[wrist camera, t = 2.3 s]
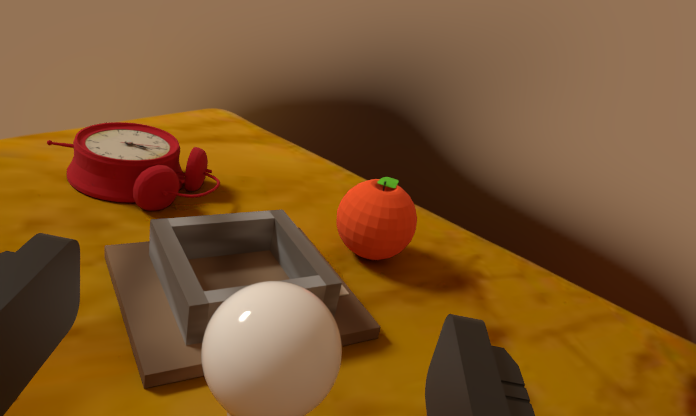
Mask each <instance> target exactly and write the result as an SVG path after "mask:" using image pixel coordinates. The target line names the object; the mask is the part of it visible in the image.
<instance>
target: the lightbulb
mask: <svg viewBox="0 0 696 416" xmlns="http://www.w3.org/2000/svg"><path fill="white" fill-rule="evenodd" d="M341 358H342V343H341V336H340V332H339V329H338V326H337V323H336V321H335V319H334V317H333V315H332V313H331V312H330V310H329V309H328V307H327V306H326V305H325V304H324V303H323V302H322V301H321V300H320V299H319V298H318V297H317V296H316V295H315V294H313V293H312V292H310V291H309V290H307V289H305V288H303V287H301V286H298V285H296V284H292V283H288V282H283V281H265V282H259V283H255V284H252V285H249V286H246V287H244V288H242V289H240V290H238V291H237V292H235V293H234V294H232V295H231V296H230V297H228V298H227V299H226V300H225V301H224V302H223V303H222V304H221V305H220V306H219V307H218V308H217V310H216V311H215V313H214V314H213V316H212V317H211V319H210V321H209V323H208V325H207V328H206V330H205V333H204V337H203V342H202V349H201V361H202V368H203V373H204V377H205V380H206V382H207V384H208V387H209V389H210V390H211V392H212V394H213V395H214V397H215V398H216V400H217V401H218V402H219V403H220V404H221V406H222V407H223V408H224V409H225V410H226V411H227V416H305V415H306V414H308V413H309V412H311V411H312V410H313V409H314V408H316V407H317V406H318V405H319V404H320V403H321V402H322V401H323V400H324V398H325V397H326V396H327V395H328V393H329V392H330V390H331V388H332V387H333V385H334V383H335V381H336V378H337V376H338V373H339V369H340V365H341Z"/></svg>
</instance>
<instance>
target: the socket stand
mask: <svg viewBox="0 0 696 416" xmlns="http://www.w3.org/2000/svg"><path fill="white" fill-rule="evenodd" d="M105 259H106V263H107V266H108V269H109V273H110V276H111V279H112V283H113V286H114V289H115V293H116V296H117V300H118V303H119V306H120V310H121V313H122V316H123V320H124V323H125V326H126V330H127V333H128V336H129V340H130V343H131V346H132V350H133V353H134V356H135V360H136V363H137V366H138V370H139V373H140V377H141V380H142V383H143V387H144V388H149V387H154V386H158V385H163V384H168V383H172V382H177V381H182V380H186V379H191V378H195V377H200V376H204V373H203V368H202V361H201V349H202V342H203V337H204V333H205V330H206V328H207V325H208V323H209V321H210V319H211V317H212V316H213V314H214V313H215V311H216V310H217V308H218V307H219V306H220V305H221V304H222V303H223V302H224V301H225V300H226V299H227V298H228V297H230V296H231V295H232V294H234V293H235V292H237V291H238V290H240V289H242V288H244V287H246V286H249V285H252V284H255V283H259V282H265V281H283V282H288V283H292V284H296V285H298V286H301V287H303V288H305V289H307V290H309V291H310V292H312V293H313V294H315V295H316V296H317V297H318V298H319V299H320V300H321V301H322V302H323V303H324V304H325V305H326V306H327V307H328V309H329V310H330V312H331V313H332V315H333V317H334V319H335V321H336V323H337V326H338V329H339V332H340V336H341V343H342V346H344V345H348V344H353V343H358V342H362V341H367V340H372V339H376V338H378V335H379V331H380V328H381V327H380V326H379V325H378V323H377V322H376V321H375V320H374V318H373V317H372V316H371V315H370V313H369V312H368V311H367V310H366V309H365V307H364V306H363V305H362V304H361V302H360V301H359V300H358V299H357V298H356V296H355V295H354V294H353V293H352V291H351V290H350V289H349V288H348V287H347V285H346V284H345V283H344V282H343V280H342V279H341V278H340V277H339V276H338V274H337V273H336V272H335V271H334V269H333V268H332V267H331V266H330V265H329V263H328V262H327V261H326V260H325V258H324V257H323V256H322V255H321V254H320V252H319V251H318V250H317V249H316V247H315V246H314V245H313V244H312V242H311V241H310V240H309V239H308V238H307V236H306V235H305V234H304V233H303V231H302V230H301V229H300V228H297V227H296V225H295V224H294V223H293V222H292V220H291V219H290V218H289V217H288V215H287V214H286V213H285V212H284V211H283V210H272V211H259V212H245V213H232V214H219V215H206V216H192V217H179V218H166V219H153V220H151V222H150V242H139V243H129V244H118V245H107V246H105Z"/></svg>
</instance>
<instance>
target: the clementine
mask: <svg viewBox="0 0 696 416" xmlns="http://www.w3.org/2000/svg"><path fill="white" fill-rule="evenodd" d="M397 183H398V180H395V179H392V178H389V177H384V178H381V179H373V180H368V181H365V182H362V183H359V184H357V185H356V186H354V187H353V188H352V189H350V190H349V191H348V192H347V193H346V195H345V196H344V197H343V199H342V201H341V202H340V205H339V208H338V210H337V228H338V232H339V235H340V237H341V239H342V240H343V242H344V244H345V245H346V246H347V247H348V248H349V249H350V250H351V251H352V252H354V253H355V254H357V255H358V256H360V257H363V258H366V259H371V260H381V259H387V258H390V257H393V256H395V255H396V254H398V253H400V252H401V251H402V250H403V249H404V248H405V247H406V246H407V245H408V244H409V243H410V242H411V240H412V238H413V235H414V233H415V230H416V223H417V216H416V210H415V206H414V204H413V202H412V200H411V198H410V197H409V195H408V194H407V193H406V192H405V191H404V190H403V189H402V188H401V187H399V186H398V185H397Z"/></svg>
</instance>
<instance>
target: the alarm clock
mask: <svg viewBox="0 0 696 416" xmlns="http://www.w3.org/2000/svg"><path fill="white" fill-rule="evenodd" d="M47 144H48V145H51V144H53V145H59V146H65V147H71V148H74V157H73V160H72V162H71V164H70V165H69V167H68V169H67V179H68V181H69V183H70V184H71V185H72V186H73V187H74V188H75V189H77V190H78V191H80V192H82V193H84V194H86V195H89V196H91V197H94V198H98V199H103V200H108V201H115V202H136V204H137V205H138V206H139V207H141V208H142V209H145V210H148V211H157V210H161V209H164V208H166V207H168V206H169V205H170V204H171V203H172V202H173V201H174V200H175V198H176V196H182V197H190V198H194V197H201V196H205V195H207V194H209V193H211V192H213V191H214V190H216V189H217V188H218V187H219V185H220V181H219V180H218V179H217V178H216V177H215V176H212V175H210V174H208V173H212V170H209V169H207V163H208V161H207V155H206V153H205V151H204V150H203V149H200V148H197V147H194V148H193V149H192V151H191V153H190V155H189V158H188V162H187V166H186V173H183V171H182V169H181V167H180V164H179V155H180V146H179V143H178V140H177V139H176V138H175V137H174V136H173V135H171V134H170V133H168V132H166V131H164V130H161V129H158V128H155V127H151V126H147V125H142V124H136V123H120V122H115V123H102V124H97V125H92V126H89V127H86V128H84V129H82V130H80V131H79V132H78V133H77V134H76V136H75V139H74V142H73V144H67V143H56V142H52V141H51V140H49V141H47ZM206 172H208V173H206ZM184 176H185V180H184ZM205 176H208V177H211V178H213V179H214V180H216V181H217V185H216V186H215V187H214V188H213V189H211V190H209V191H207V192H205V193H201V194H196V195H188V194H181V193H178V191H179V190H180V189H181V187H182V186H183V183H184V182H185V189H186V191H196V190H198V189H199V188H200V187H201V186H202V184H203V182H204V179H205Z"/></svg>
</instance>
